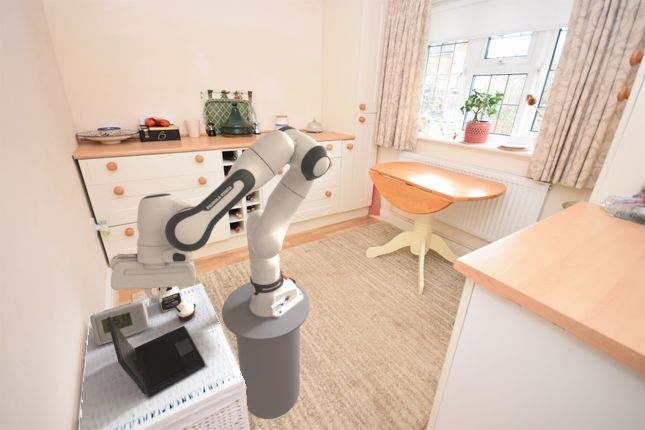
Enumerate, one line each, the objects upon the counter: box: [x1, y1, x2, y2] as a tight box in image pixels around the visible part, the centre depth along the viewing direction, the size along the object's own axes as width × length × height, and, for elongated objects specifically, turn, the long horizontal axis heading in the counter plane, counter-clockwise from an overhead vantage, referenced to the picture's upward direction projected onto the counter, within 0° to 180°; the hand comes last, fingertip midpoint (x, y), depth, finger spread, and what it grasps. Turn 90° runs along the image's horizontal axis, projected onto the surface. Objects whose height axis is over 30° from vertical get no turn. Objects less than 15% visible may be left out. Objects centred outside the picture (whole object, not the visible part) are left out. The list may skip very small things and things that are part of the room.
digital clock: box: [89, 300, 151, 346], centre depth 102 cm, size 16×9×11 cm, turn 110°
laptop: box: [133, 325, 206, 398], centre depth 95 cm, size 16×20×2 cm
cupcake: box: [169, 301, 197, 322], centre depth 109 cm, size 10×6×12 cm, turn 133°
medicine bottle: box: [156, 287, 183, 313], centre depth 116 cm, size 7×7×12 cm
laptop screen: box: [107, 316, 149, 396], centre depth 85 cm, size 16×20×1 cm
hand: (155, 302), depth 80 cm, fingers closed
